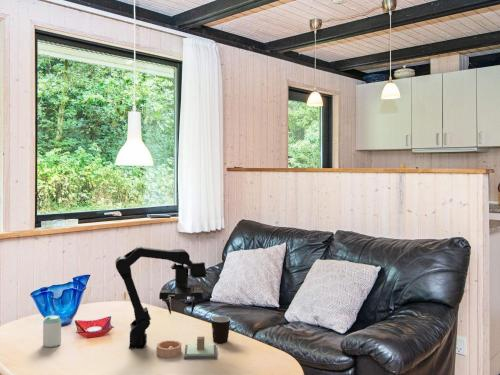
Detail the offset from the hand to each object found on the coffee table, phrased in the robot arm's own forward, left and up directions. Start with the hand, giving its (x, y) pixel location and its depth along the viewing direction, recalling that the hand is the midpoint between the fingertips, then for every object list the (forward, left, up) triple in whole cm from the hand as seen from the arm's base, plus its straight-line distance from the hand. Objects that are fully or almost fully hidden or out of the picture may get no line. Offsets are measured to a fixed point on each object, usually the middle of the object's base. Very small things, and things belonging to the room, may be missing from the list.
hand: (181, 313), depth 210 cm
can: (-54, -2, -13) cm, 56 cm away
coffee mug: (+18, +2, -13) cm, 22 cm away
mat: (+9, -13, -12) cm, 20 cm away
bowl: (-4, -13, -12) cm, 18 cm away
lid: (+9, -13, -12) cm, 19 cm away
